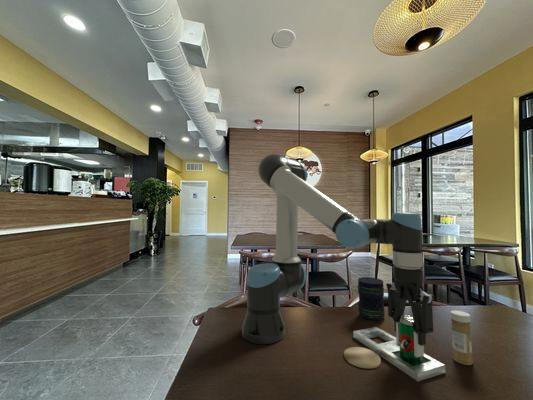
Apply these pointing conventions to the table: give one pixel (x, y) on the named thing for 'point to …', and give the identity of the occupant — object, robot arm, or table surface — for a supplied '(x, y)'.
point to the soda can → (407, 340)
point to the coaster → (362, 357)
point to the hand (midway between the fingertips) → (409, 350)
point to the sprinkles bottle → (461, 337)
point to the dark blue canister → (371, 299)
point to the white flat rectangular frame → (398, 354)
